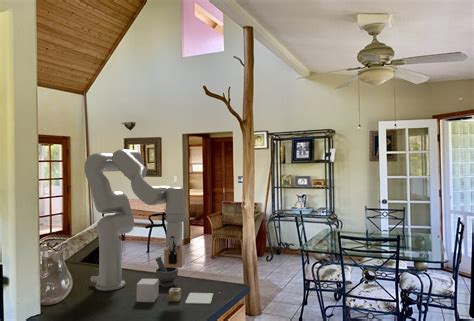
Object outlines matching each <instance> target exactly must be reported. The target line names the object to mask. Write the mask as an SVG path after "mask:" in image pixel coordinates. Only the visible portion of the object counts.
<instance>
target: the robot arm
mask: <svg viewBox="0 0 474 321" xmlns="http://www.w3.org/2000/svg"><path fill="white" fill-rule="evenodd" d="M143 160H144V159H143V155H142V154H141V152H139V151H137V150H135V149H123V148H122V149H118V150H116V151H114V152H113V153H111V152H110V153H109V152H96V153H92V154H90V155H89V156H87V158H86V159H85V162H84V167H83V168H84V174H85V177H86V180H87V182H88V184H89V187H90V192H91V195H92V199H93V203H94V207H95V208H96V211H97V212H98V213H100V214H109V215H105V216H103V217H101V218H100V219H99V220H98V222H97V225H96V229H97V230H96V231H97V234H98V244H99V248H98V250H99V258H98V260H99V261H98V262H99V264H98V265H99V266H98V268H99V269H98V271H99V272H98V274H99V275H98V276H90V282H91V283H95V289H96V290H97V291H105V292H107V291H115V290H119V289H122V288H124V287H125V286H126V281H125V280H123V279H122V275H123V274H122V271H123V268H122V266H123V264H122V263H123V261H122V260H123V258H122V257H123V250H122V249H123V245H122V242H121V240H120V238H119V236H121V235H126V234H128V233H131V232H132V231H133V229H134V227H135V218H134V214H133V211H132V208H131V204H130V201H129V198H128V196H127V195H126V193H124V192H123V191H119V190H117V191H116V190H115V191H113V190H112V187H111V182H110V181H109V178H107V176H106V175H105V174H104V173H105V172H109V173H110V172H121V174H123V175H124V177H126V178H127V179H128V180H129V181H130V187H131V190H132V191H133V194H134V195H135V196H136V197H137V198H138V199H139V200H140V201H141V202H142V203H144V204H145V205H147V206H155V205H156V206H157V205H163V204H165V222H167V225H166V233H165V234H166V236H165V248H166V247H168V246H169V264H177V254H176V250H177V247H178V246H181V244H182V242H183V222H185V212H186V211H185V210H186V209H185V208H186V206H185V205H186V204H185V202H186V190H185V188H184V187H182V186H168V185H155V186H154V185H153V186H151V184H149V183H148V182H147V181H146V180H145V177H146V175H147V172H148V170H147V167H146V166H145V165H144V164H143V162H144V161H143ZM110 213H111V214H110ZM112 213H114V214H112ZM174 248H175V251H174Z"/></svg>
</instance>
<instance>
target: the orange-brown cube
mask: <svg viewBox="0 0 474 321" xmlns="http://www.w3.org/2000/svg"><path fill="white" fill-rule="evenodd" d="M174 251H175V248H174ZM176 254H177V264H169V246H168V247H166V246H165V248H164V252H163V256H164V257H163V260H164V261H163V264H164V267H172V268H177V269H179V268H180V269H181V268H183V266H184V265H185V264H186V246H185V245H180V246H178V247H177V250H176Z"/></svg>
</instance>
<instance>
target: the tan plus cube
mask: <svg viewBox="0 0 474 321" xmlns="http://www.w3.org/2000/svg"><path fill="white" fill-rule="evenodd" d="M181 296H182V287H171V288H169V290H168V302H179V301H180V300H181Z"/></svg>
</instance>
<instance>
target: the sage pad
mask: <svg viewBox="0 0 474 321" xmlns="http://www.w3.org/2000/svg"><path fill="white" fill-rule="evenodd" d="M213 297H214V293H212V292H189V294H188V296H187V298H186V300H185V303H184V304H185V305H187V304H189V305H211V303H212V300H213Z"/></svg>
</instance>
